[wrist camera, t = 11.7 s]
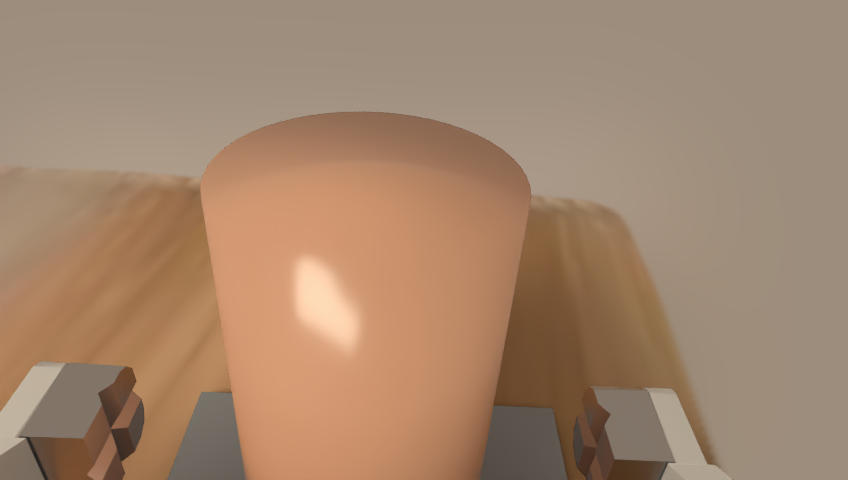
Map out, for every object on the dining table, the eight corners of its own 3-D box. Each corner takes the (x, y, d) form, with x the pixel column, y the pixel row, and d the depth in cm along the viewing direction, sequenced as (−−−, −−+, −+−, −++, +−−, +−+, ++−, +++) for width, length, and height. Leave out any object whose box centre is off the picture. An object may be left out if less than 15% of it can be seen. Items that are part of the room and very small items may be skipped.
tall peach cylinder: (243, 685, 14) (145, 261, 8) (304, 410, 21) (280, 53, 14) (461, 695, 14) (554, 285, 8) (454, 418, 21) (500, 67, 14)
